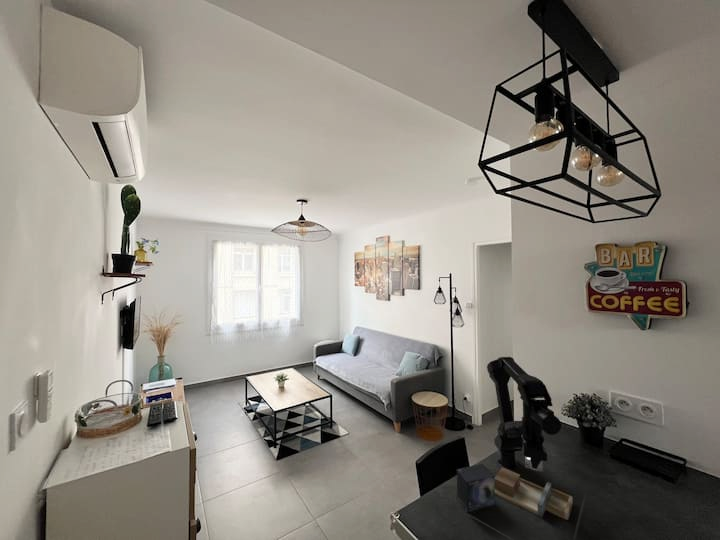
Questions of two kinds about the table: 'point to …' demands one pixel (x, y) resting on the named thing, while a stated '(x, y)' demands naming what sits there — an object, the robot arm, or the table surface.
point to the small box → (475, 487)
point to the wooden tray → (540, 499)
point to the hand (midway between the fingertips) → (533, 464)
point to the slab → (507, 482)
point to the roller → (529, 465)
